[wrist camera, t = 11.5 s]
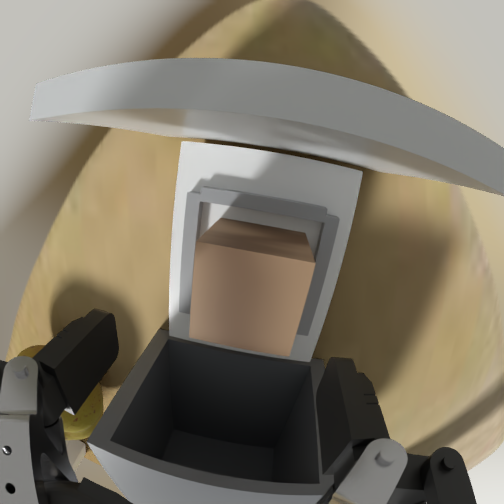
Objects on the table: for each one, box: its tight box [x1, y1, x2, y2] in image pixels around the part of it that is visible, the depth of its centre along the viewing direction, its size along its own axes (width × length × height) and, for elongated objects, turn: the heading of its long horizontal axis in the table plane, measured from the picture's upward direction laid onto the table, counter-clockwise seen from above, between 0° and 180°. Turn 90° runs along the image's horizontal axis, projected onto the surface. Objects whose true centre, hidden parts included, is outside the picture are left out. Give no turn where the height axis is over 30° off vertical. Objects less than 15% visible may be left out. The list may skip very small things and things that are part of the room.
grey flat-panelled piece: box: [30, 58, 504, 362], centre depth 12 cm, size 14×15×11 cm
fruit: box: [17, 345, 103, 440], centre depth 21 cm, size 11×12×10 cm
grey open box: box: [87, 329, 334, 504], centre depth 18 cm, size 14×15×12 cm
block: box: [189, 218, 316, 357], centre depth 14 cm, size 5×5×5 cm
